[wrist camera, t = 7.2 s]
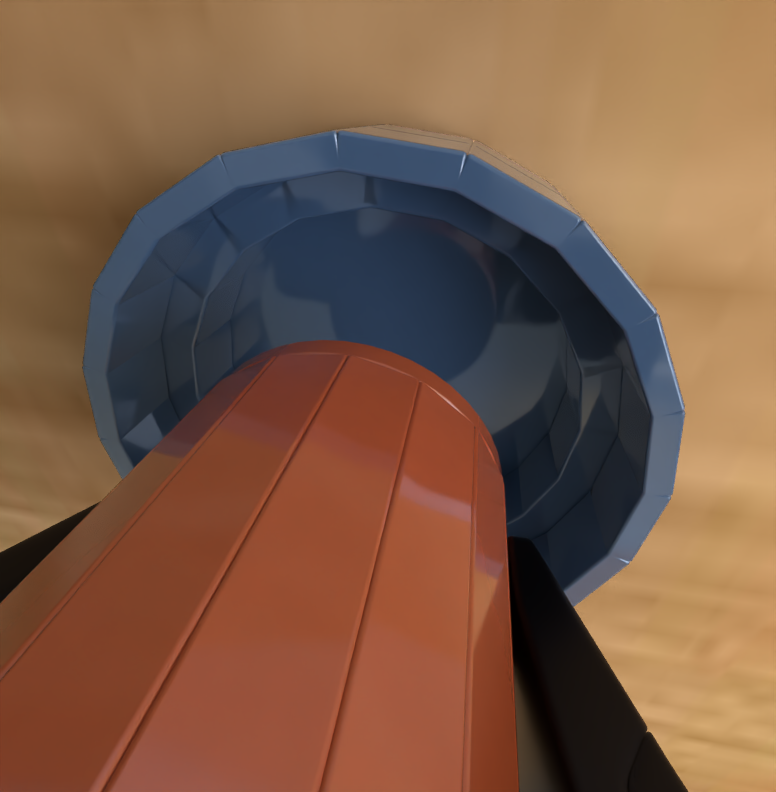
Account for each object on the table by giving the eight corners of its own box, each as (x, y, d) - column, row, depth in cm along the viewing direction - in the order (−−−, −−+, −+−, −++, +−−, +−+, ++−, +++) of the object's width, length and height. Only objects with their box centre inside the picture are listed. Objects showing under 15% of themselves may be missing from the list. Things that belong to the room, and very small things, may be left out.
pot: (305, 598, 13) (151, 1013, 7) (145, 406, 10) (-311, 799, 4) (547, 549, 10) (629, 1126, 4) (415, 280, 8) (200, 793, 2)
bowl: (328, 549, 20) (286, 665, 16) (116, 266, 15) (-30, 326, 11) (669, 465, 15) (740, 602, 11) (523, 1, 10) (549, -80, 6)
